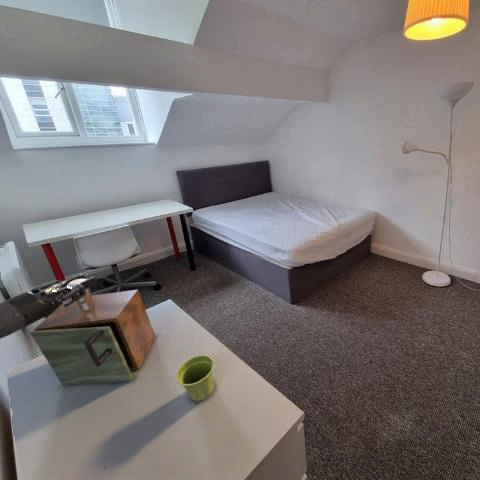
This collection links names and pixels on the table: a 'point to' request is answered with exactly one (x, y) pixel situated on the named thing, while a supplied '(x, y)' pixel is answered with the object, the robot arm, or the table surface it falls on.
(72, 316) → the cupboard
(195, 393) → the plant pot
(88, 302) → the milkshake
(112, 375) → the cupboard door
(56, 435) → the table surface
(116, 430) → the table surface
